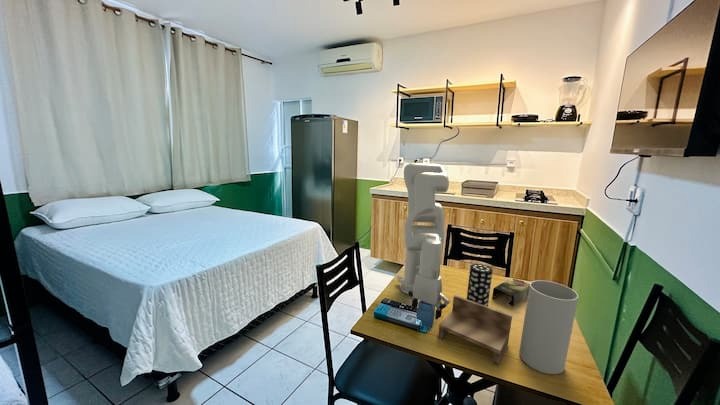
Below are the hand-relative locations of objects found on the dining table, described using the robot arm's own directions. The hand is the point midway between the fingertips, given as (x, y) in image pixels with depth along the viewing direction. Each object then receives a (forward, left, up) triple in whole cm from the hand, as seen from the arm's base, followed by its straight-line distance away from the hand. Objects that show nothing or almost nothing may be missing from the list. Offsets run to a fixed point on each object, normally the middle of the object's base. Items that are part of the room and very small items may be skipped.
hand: (425, 313), depth 112 cm
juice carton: (+21, +46, -4) cm, 51 cm away
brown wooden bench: (+18, +1, -4) cm, 18 cm away
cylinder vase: (+38, +6, -4) cm, 39 cm away
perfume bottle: (0, 0, -4) cm, 4 cm away
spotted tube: (+13, +20, -4) cm, 24 cm away
